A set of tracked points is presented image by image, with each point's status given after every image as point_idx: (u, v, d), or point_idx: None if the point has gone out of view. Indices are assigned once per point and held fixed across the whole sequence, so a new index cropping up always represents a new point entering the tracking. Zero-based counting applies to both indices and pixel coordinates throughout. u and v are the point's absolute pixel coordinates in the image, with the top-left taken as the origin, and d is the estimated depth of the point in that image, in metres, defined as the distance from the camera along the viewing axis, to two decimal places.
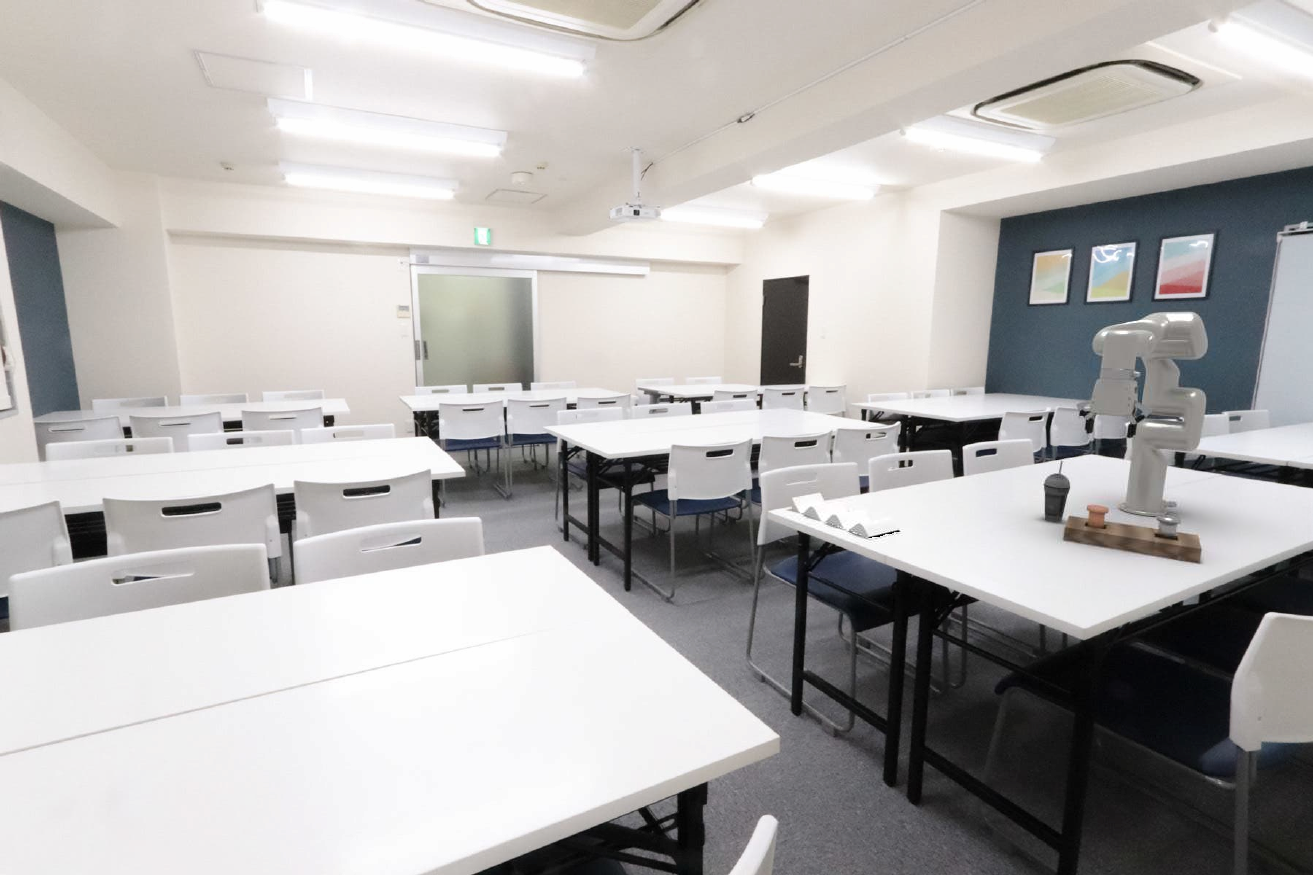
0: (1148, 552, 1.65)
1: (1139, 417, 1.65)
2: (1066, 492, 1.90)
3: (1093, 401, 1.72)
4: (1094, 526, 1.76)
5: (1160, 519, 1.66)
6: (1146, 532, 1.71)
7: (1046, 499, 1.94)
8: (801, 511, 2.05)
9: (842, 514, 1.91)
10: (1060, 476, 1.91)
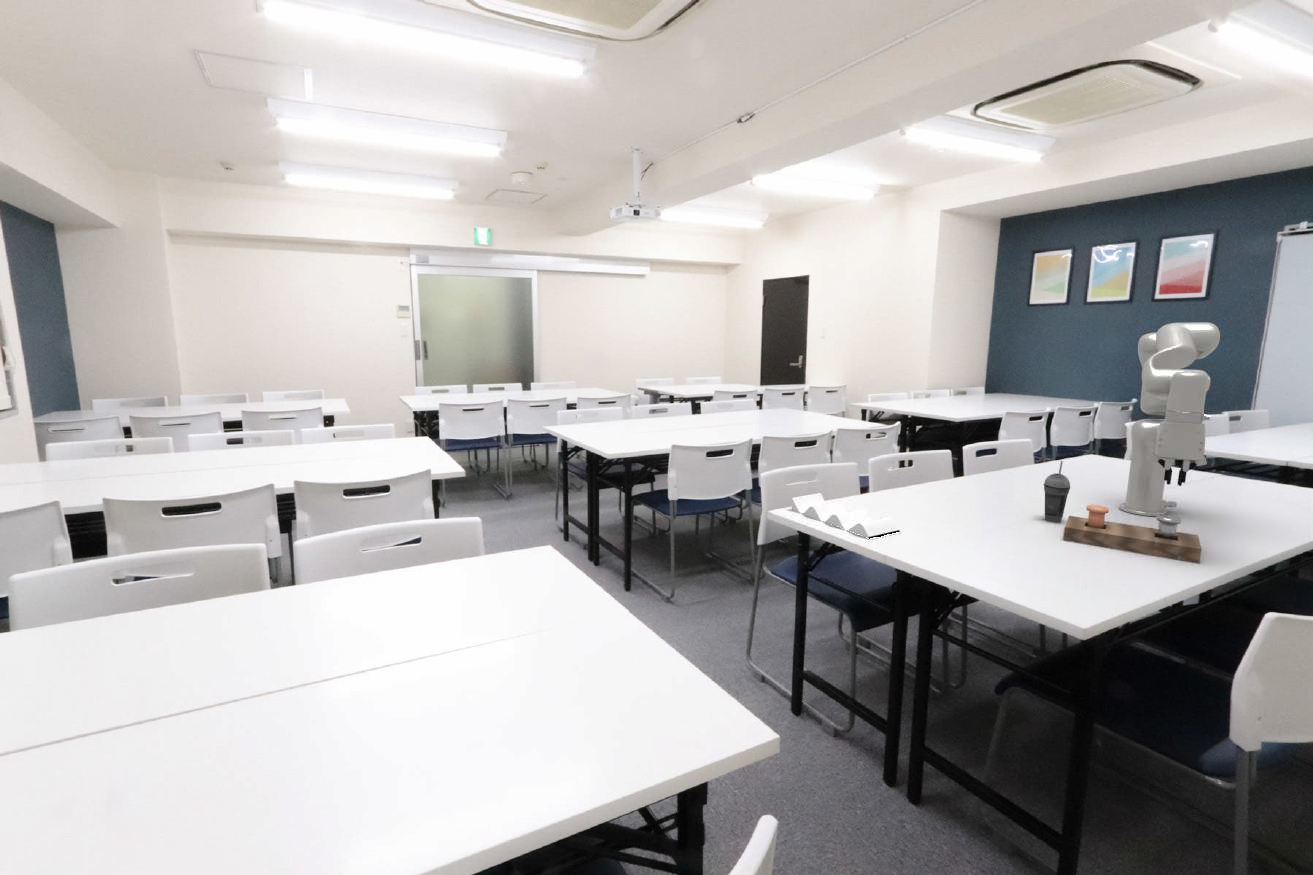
0: (1148, 552, 1.65)
1: (1191, 464, 1.61)
2: (1066, 492, 1.90)
3: (1159, 444, 1.64)
4: (1094, 526, 1.76)
5: (1160, 519, 1.66)
6: (1146, 532, 1.71)
7: (1046, 499, 1.94)
8: (801, 511, 2.05)
9: (842, 514, 1.91)
10: (1060, 476, 1.91)
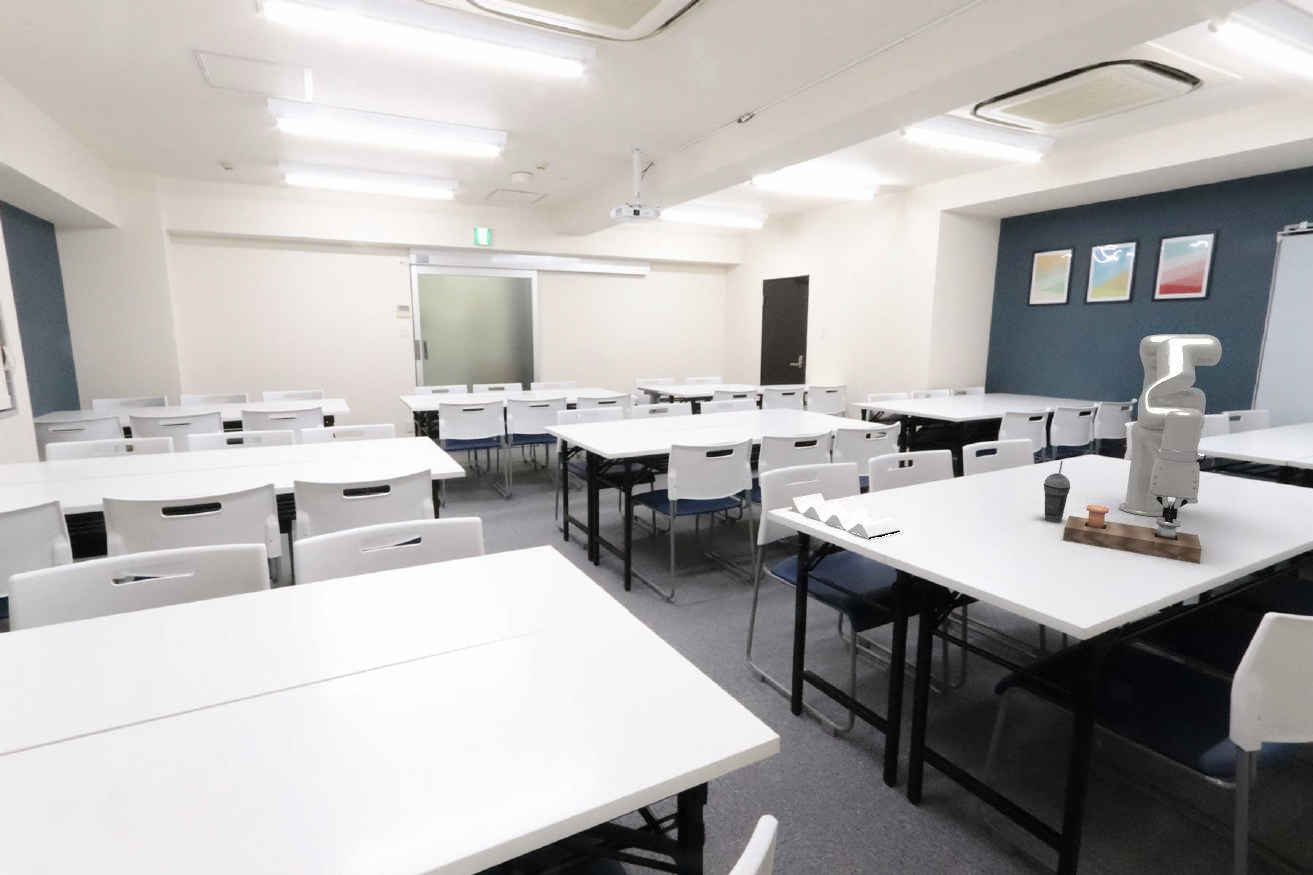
0: (1148, 552, 1.65)
1: (1182, 502, 1.63)
2: (1066, 492, 1.90)
3: (1154, 482, 1.66)
4: (1094, 526, 1.76)
5: (1160, 522, 1.66)
6: (1146, 532, 1.71)
7: (1046, 499, 1.94)
8: (801, 511, 2.05)
9: (842, 514, 1.90)
10: (1060, 476, 1.91)
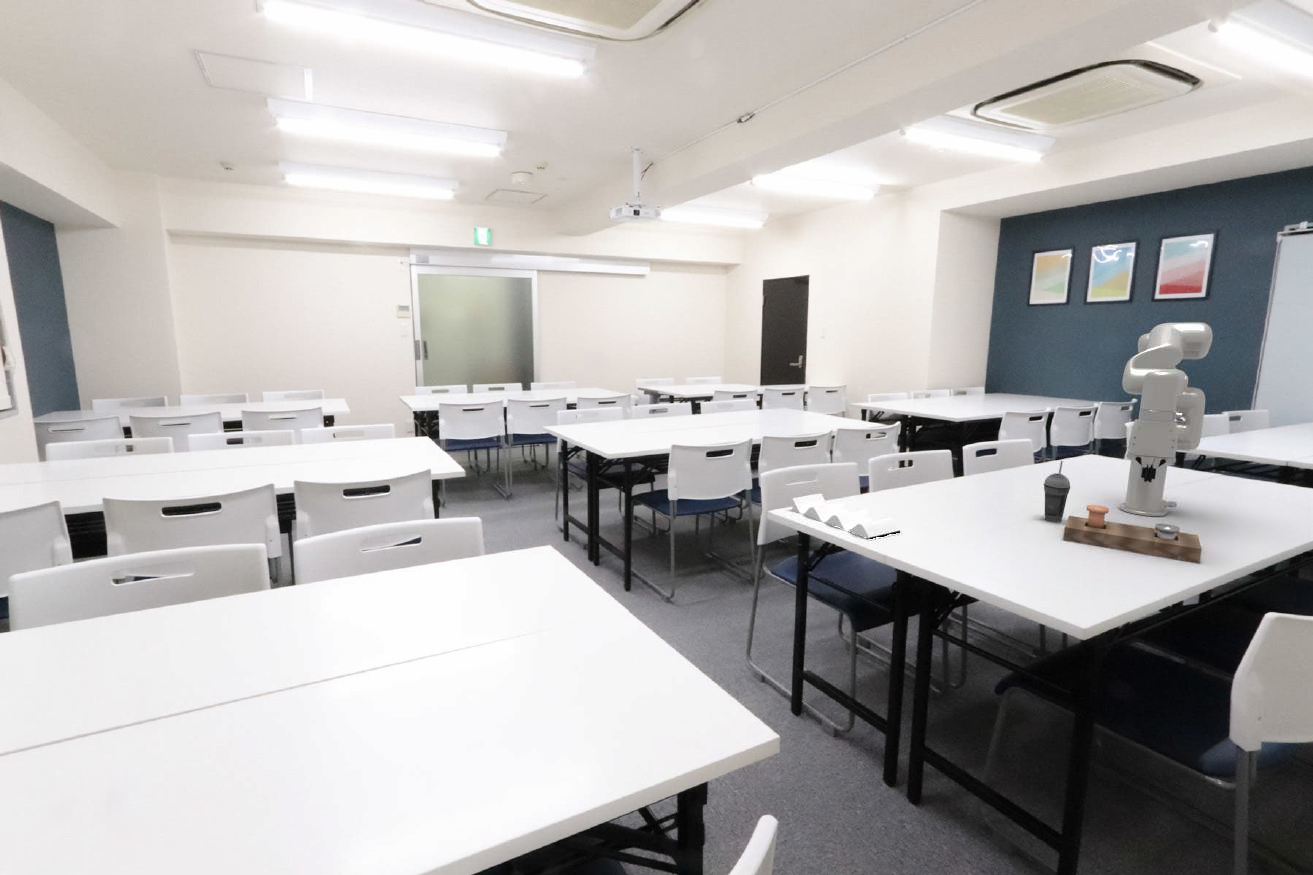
0: (1148, 552, 1.65)
1: (1160, 461, 1.65)
2: (1066, 492, 1.90)
3: (1133, 442, 1.67)
4: (1094, 526, 1.76)
5: (1159, 528, 1.67)
6: (1146, 532, 1.71)
7: (1046, 499, 1.94)
8: (802, 512, 2.04)
9: (842, 515, 1.90)
10: (1060, 476, 1.91)
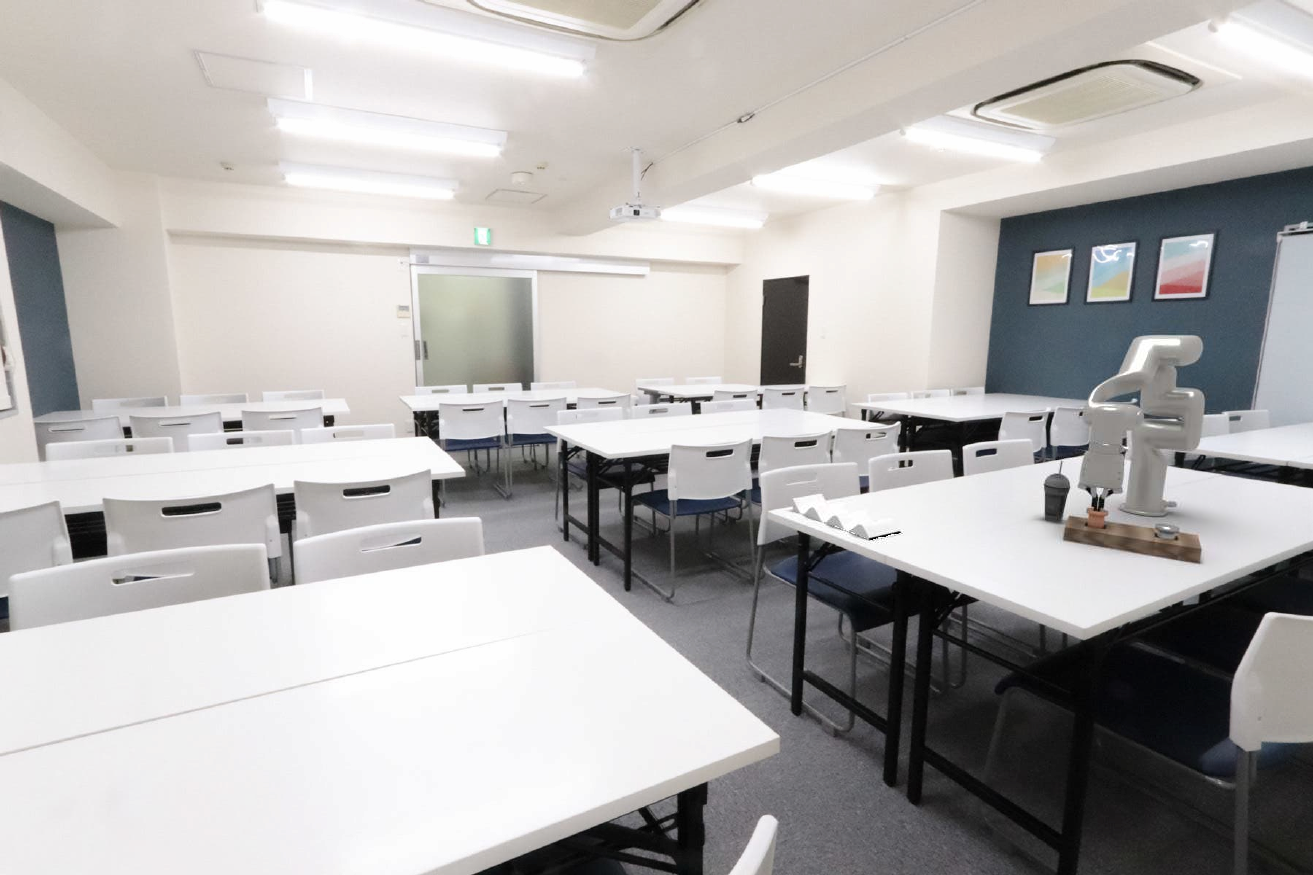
0: (1148, 552, 1.65)
1: (1108, 492, 1.73)
2: (1066, 492, 1.90)
3: (1083, 473, 1.75)
4: None
5: (1159, 528, 1.67)
6: (1146, 532, 1.71)
7: (1046, 499, 1.94)
8: (802, 512, 2.04)
9: (843, 515, 1.90)
10: (1060, 476, 1.91)
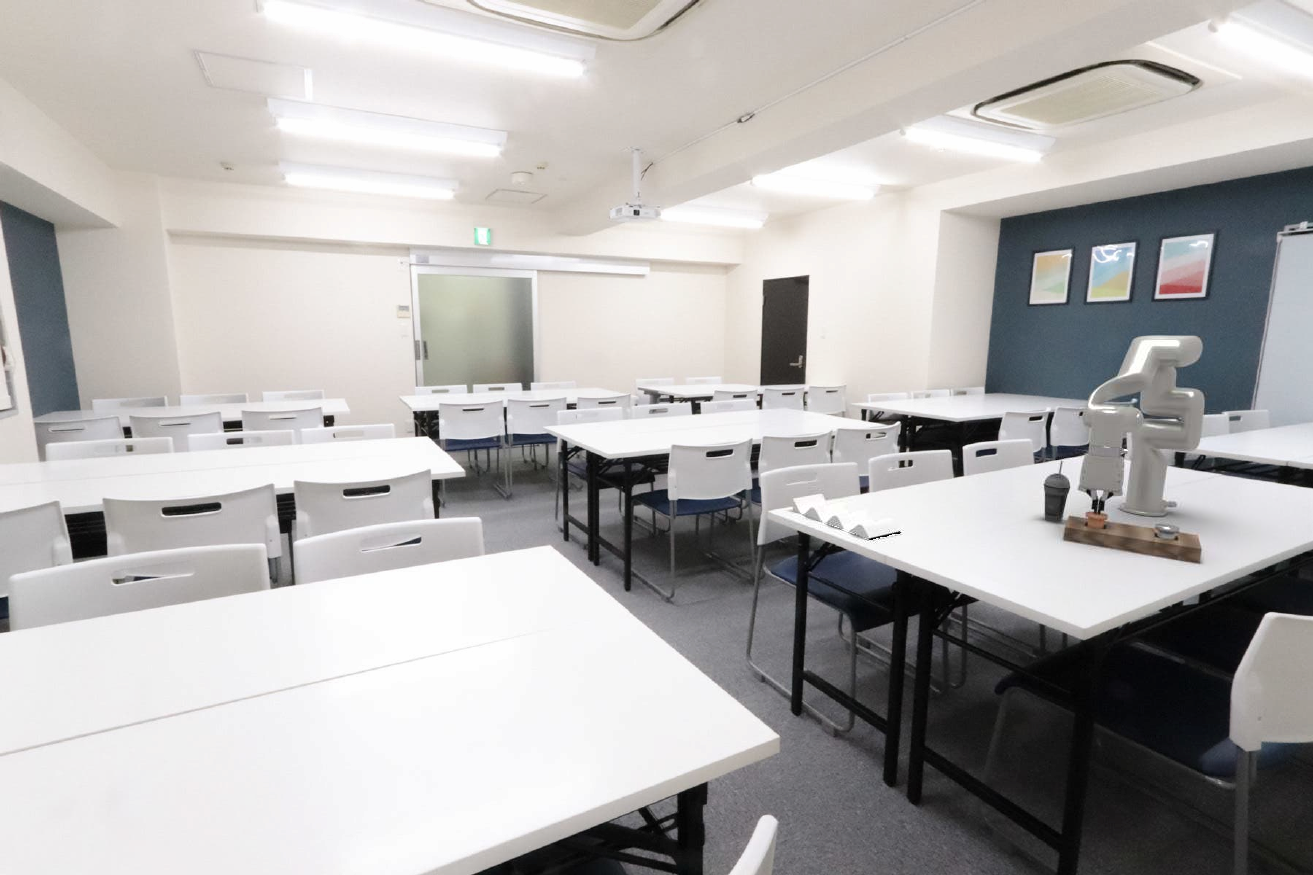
0: (1148, 552, 1.65)
1: (1108, 494, 1.74)
2: (1066, 492, 1.90)
3: (1083, 476, 1.76)
4: None
5: (1159, 528, 1.67)
6: (1146, 532, 1.71)
7: (1046, 499, 1.94)
8: (802, 512, 2.04)
9: (843, 515, 1.90)
10: (1060, 476, 1.91)
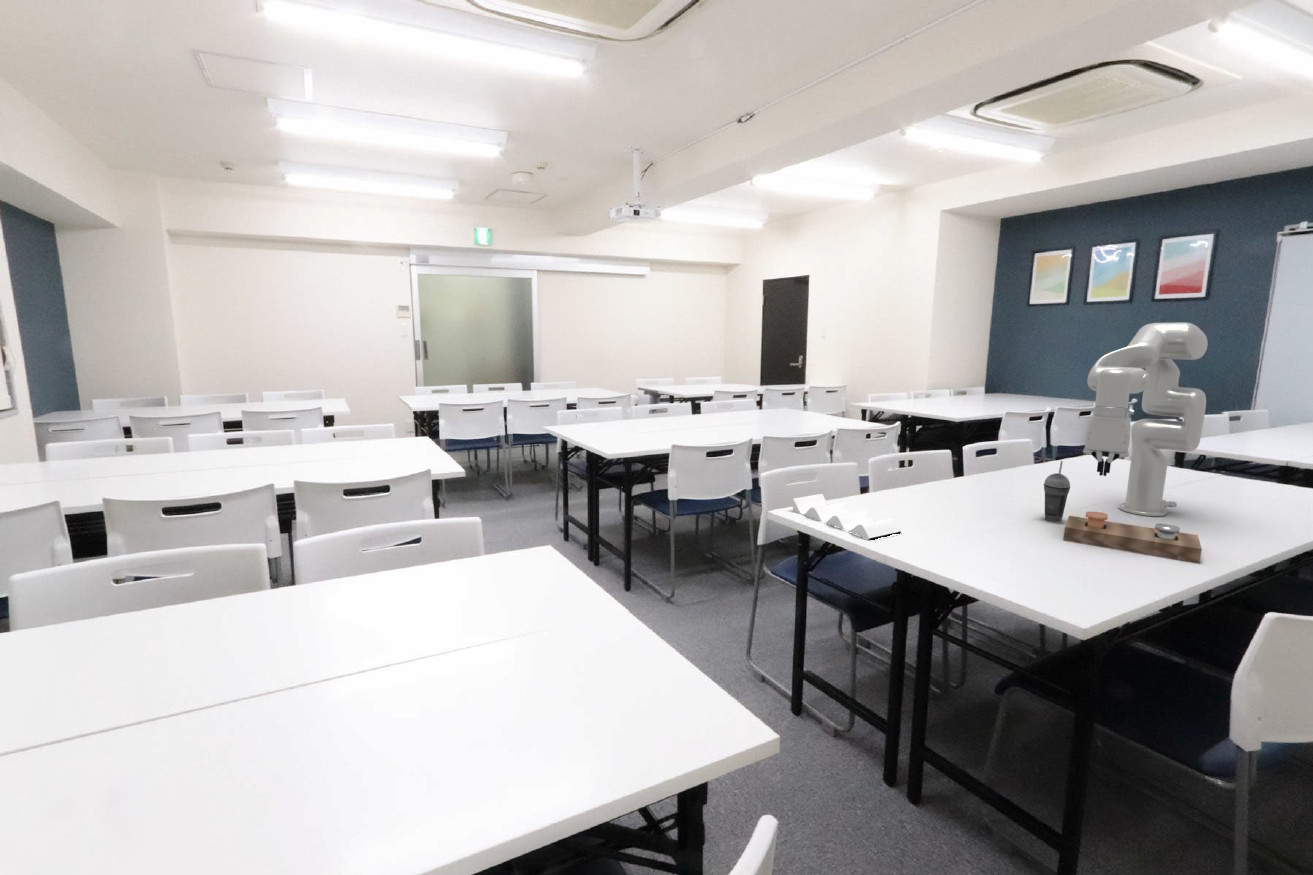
0: (1148, 552, 1.65)
1: (1114, 456, 1.72)
2: (1066, 492, 1.90)
3: (1089, 438, 1.74)
4: None
5: (1159, 528, 1.67)
6: (1146, 532, 1.71)
7: (1046, 499, 1.94)
8: (802, 512, 2.04)
9: (843, 515, 1.90)
10: (1060, 476, 1.91)
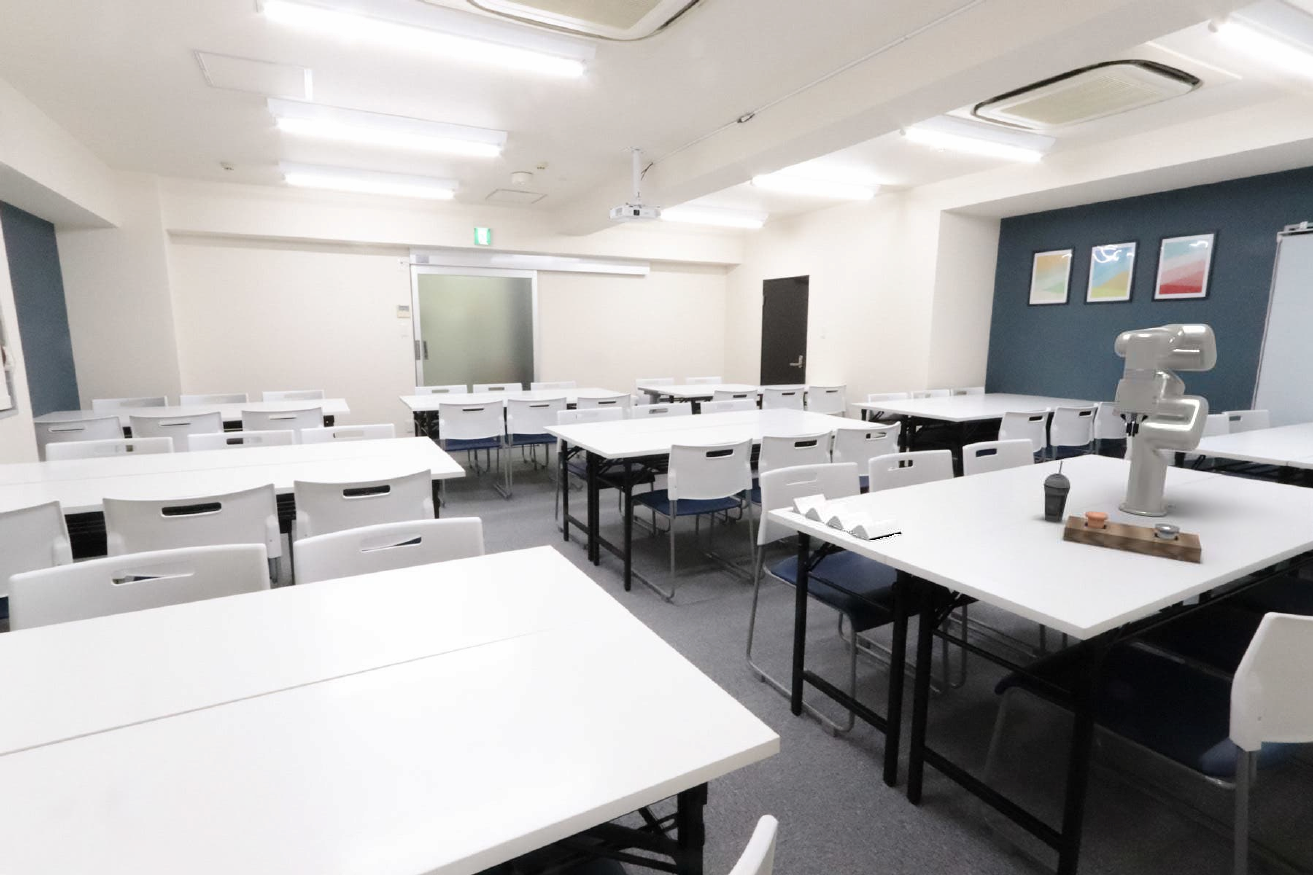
0: (1148, 552, 1.65)
1: (1143, 417, 1.79)
2: (1066, 492, 1.90)
3: (1118, 400, 1.82)
4: None
5: (1159, 528, 1.67)
6: (1146, 532, 1.71)
7: (1046, 499, 1.94)
8: (803, 512, 2.04)
9: (843, 515, 1.89)
10: (1060, 476, 1.91)
